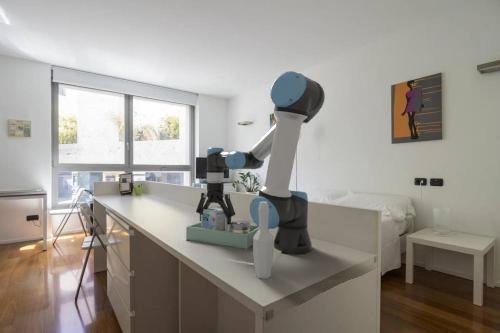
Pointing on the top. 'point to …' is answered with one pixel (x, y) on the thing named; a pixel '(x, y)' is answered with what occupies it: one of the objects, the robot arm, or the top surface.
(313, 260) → the top surface
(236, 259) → the top surface
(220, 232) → the box
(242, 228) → the tin can
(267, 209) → the low poly bottle
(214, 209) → the light bulb box
